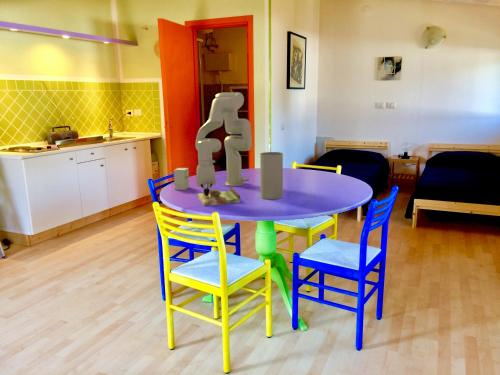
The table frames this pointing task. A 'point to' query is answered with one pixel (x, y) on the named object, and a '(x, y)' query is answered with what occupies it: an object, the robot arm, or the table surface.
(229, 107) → the robot arm
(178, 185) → the supplement box
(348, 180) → the table surface
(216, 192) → the walnut block
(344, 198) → the table surface
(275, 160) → the cylinder vase
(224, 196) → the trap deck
